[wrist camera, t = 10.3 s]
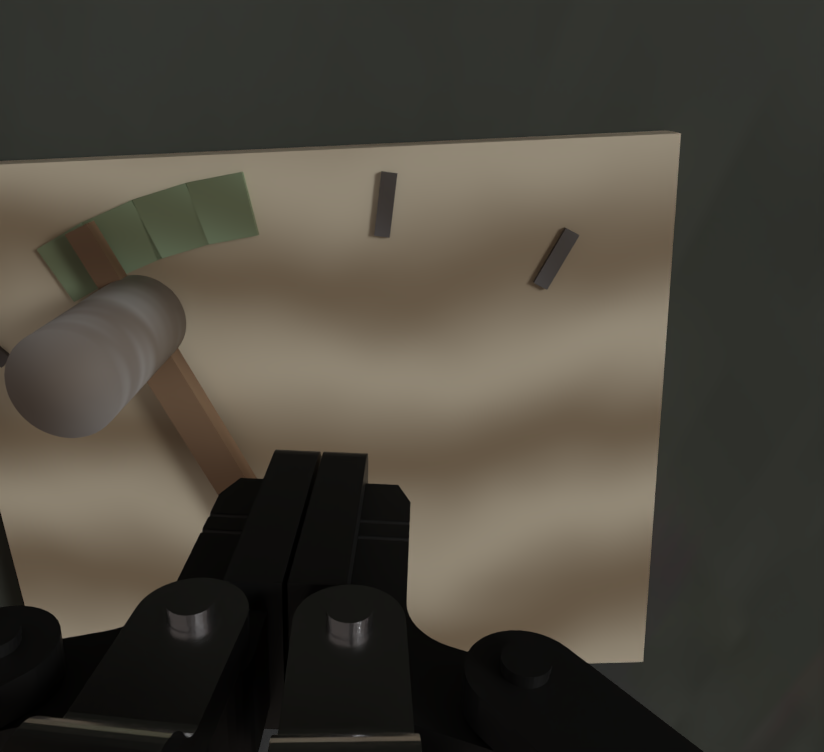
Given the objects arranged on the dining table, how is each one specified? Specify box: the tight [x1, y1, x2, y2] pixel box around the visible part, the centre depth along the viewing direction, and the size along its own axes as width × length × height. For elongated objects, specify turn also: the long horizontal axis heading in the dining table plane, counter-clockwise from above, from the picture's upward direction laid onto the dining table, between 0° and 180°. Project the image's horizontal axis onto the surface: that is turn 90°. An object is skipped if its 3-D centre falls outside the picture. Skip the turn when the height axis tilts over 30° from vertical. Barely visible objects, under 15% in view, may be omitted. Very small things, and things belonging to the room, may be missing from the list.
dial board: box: [0, 130, 681, 663], centre depth 29 cm, size 20×24×2 cm
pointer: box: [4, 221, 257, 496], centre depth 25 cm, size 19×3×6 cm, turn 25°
